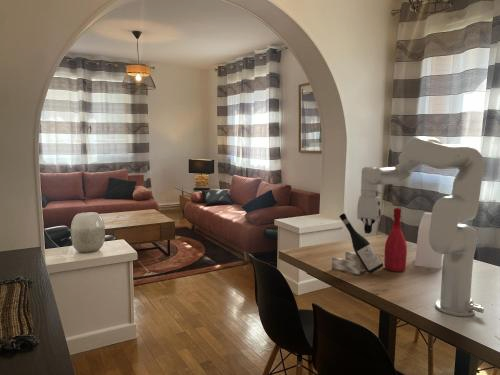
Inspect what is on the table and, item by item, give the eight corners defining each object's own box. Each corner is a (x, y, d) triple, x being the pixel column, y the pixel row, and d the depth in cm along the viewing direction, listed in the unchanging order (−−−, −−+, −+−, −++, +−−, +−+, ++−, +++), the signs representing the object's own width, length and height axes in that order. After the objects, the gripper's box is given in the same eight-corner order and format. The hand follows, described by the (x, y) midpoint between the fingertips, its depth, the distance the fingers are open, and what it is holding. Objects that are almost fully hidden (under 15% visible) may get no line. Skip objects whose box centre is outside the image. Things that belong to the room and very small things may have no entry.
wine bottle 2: (407, 273, 176) (410, 210, 172) (385, 271, 178) (388, 209, 174) (403, 266, 185) (406, 206, 182) (382, 265, 187) (385, 206, 184)
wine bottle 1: (386, 265, 169) (349, 208, 178) (370, 273, 169) (335, 216, 178) (382, 266, 177) (347, 212, 186) (367, 274, 177) (333, 220, 186)
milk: (441, 262, 192) (444, 212, 189) (441, 268, 182) (444, 216, 179) (416, 259, 197) (418, 210, 194) (414, 265, 187) (417, 214, 184)
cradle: (372, 268, 182) (373, 256, 181) (358, 276, 171) (358, 263, 171) (346, 262, 191) (347, 251, 191) (331, 269, 181) (332, 257, 180)
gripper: (388, 194, 170) (387, 234, 172) (358, 191, 180) (357, 229, 182) (381, 196, 164) (379, 237, 166) (350, 193, 175) (349, 231, 177)
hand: (367, 232), depth 174 cm, fingers closed
